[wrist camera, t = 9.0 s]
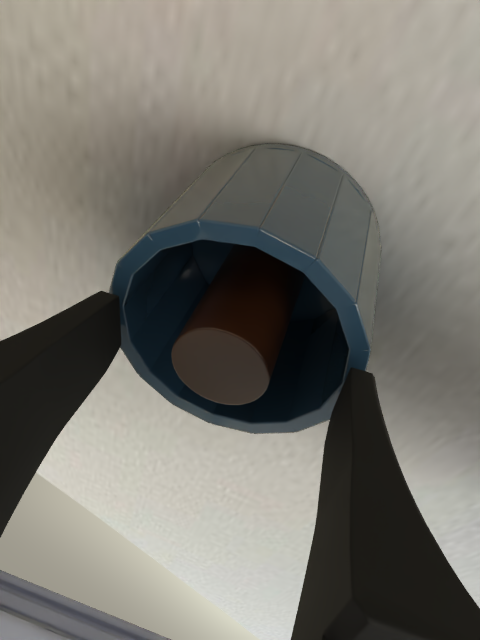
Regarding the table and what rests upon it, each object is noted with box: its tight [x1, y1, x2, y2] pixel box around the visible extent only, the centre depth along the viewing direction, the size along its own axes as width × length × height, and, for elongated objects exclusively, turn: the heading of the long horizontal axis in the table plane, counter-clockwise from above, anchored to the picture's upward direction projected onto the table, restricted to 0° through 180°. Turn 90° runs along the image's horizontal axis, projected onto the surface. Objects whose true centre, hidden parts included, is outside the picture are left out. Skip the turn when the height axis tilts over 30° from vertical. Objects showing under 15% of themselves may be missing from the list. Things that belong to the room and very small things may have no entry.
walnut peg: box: [171, 244, 305, 405], centre depth 16 cm, size 3×3×7 cm
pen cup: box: [109, 144, 381, 434], centre depth 17 cm, size 8×8×6 cm
